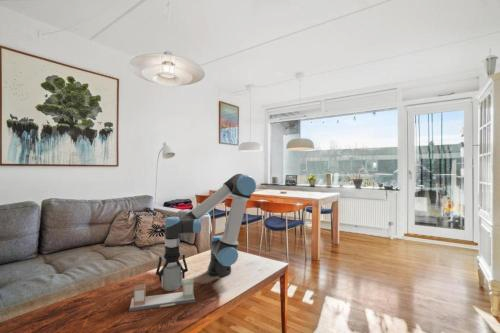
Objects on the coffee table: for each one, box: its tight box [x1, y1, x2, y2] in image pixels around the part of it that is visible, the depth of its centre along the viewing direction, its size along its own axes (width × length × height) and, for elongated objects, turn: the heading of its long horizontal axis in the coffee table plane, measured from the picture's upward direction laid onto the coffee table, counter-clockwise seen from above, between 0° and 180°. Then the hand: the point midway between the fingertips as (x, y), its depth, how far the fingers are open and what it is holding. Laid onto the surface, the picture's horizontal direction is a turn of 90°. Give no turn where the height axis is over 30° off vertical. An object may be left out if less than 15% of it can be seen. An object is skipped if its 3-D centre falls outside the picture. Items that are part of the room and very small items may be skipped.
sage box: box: [182, 278, 195, 299], centre depth 134 cm, size 5×4×8 cm
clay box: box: [133, 283, 147, 306], centre depth 127 cm, size 5×4×8 cm
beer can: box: [162, 262, 182, 292], centre depth 144 cm, size 10×10×12 cm
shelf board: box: [128, 291, 196, 312], centre depth 130 cm, size 30×12×2 cm, turn 108°
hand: (172, 285), depth 144 cm, fingers closed on beer can, 9 cm apart
